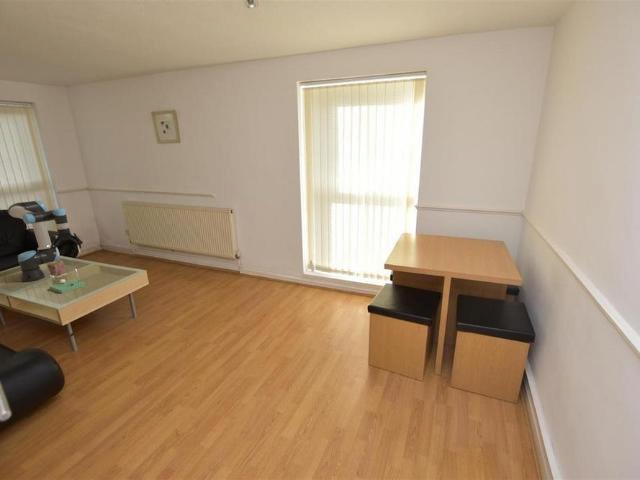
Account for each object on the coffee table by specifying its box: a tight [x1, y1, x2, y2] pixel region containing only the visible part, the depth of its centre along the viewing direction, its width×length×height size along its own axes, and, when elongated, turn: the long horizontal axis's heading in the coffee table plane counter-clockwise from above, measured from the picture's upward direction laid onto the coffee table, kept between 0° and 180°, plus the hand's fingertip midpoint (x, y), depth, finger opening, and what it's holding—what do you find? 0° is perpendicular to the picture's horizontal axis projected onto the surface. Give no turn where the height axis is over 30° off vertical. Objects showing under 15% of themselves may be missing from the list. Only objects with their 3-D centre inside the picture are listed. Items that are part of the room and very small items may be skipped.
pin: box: [74, 265, 81, 282], centre depth 247 cm, size 4×1×14 cm, turn 63°
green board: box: [48, 279, 86, 294], centre depth 246 cm, size 18×16×2 cm
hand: (69, 254), depth 250 cm, fingers open, 13 cm apart
